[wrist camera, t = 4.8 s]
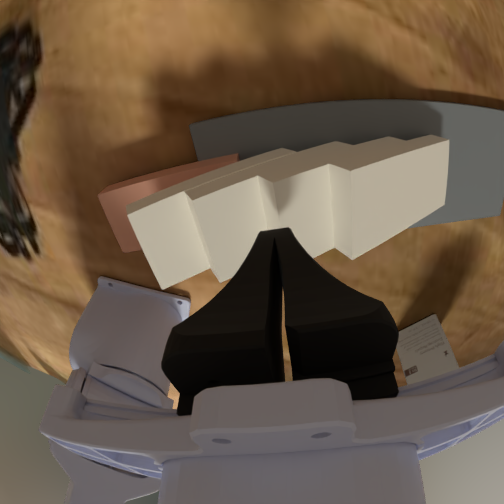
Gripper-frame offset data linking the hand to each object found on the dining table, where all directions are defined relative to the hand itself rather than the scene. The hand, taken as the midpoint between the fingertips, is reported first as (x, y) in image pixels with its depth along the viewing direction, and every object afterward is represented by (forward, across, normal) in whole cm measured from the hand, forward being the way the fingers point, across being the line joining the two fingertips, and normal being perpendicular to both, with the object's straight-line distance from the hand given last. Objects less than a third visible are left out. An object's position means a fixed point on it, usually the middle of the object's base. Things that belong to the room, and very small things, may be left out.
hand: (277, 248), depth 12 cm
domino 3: (+7, -9, 0) cm, 11 cm away
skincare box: (+9, -15, +21) cm, 27 cm away
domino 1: (+7, -2, 0) cm, 7 cm away
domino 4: (+7, -12, 0) cm, 14 cm away
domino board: (+8, -9, 0) cm, 12 cm away
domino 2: (+7, -5, 0) cm, 9 cm away
